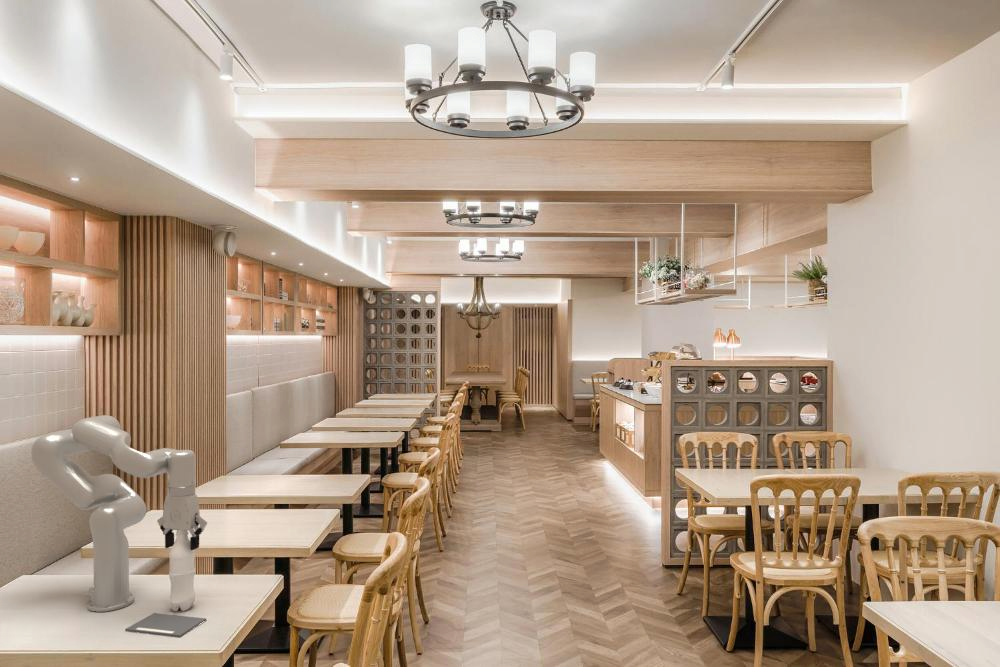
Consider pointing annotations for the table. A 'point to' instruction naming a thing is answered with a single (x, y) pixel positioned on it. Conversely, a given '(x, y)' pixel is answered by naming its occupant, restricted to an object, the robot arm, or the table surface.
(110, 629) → the table surface
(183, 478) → the robot arm
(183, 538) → the water bottle
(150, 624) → the board
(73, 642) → the table surface
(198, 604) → the table surface
